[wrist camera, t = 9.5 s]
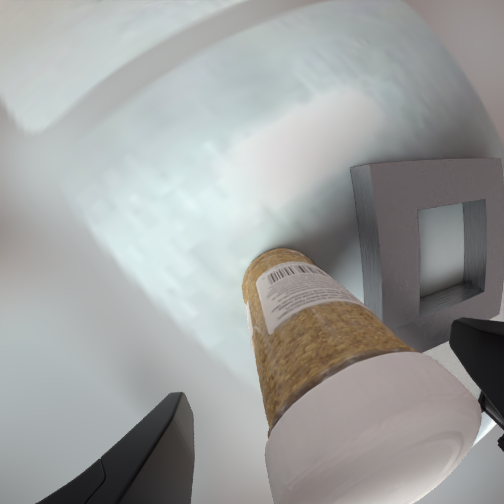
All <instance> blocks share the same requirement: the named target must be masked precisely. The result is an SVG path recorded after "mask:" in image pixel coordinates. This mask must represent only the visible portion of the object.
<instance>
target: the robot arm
mask: <svg viewBox="0 0 504 504" xmlns="http://www.w3.org/2000/svg"><path fill="white" fill-rule="evenodd" d="M449 344H450V347H451V349H452V350H453V352H454V353H455V355H456V356H457V358H458V359H459V360H460V362H461V363H462V365H463V366H464V368H465V369H466V371H467V372H468V374H469V375H470V377H471V378H472V379H473V381H474V382H475V383H476V384H477V386H478V387H479V388H480V389H481V391H482V392H481V395H480V398H479V401H478V402H479V404H480V407H481V413H482V412H485V413H486V414H488V415H489V416H490V417H491V418H492V419H493V420H494V421H495V422H496V423H497V424H498V425H499V426H500V427H501V428H502V429H503V430H504V322H500V321H491V320H483V319H474V318H466V317H460V318H458V319H456V320H454V321H453V322H452V324H451V331H450V339H449ZM498 443H499V444H498V446H499V447H500V448H501V449H502V450H503V451H504V434H503V436H502V437H500V438H499V439H498ZM194 454H195V453H194V419H193V412H192V410H191V407H190V405H189V403H188V400H187V397H186V396H185V394H184V393H183V392H174V393H170V394H169V395H168V396H166V397H165V398H164V400H162V401H161V402H160V403H159V404H158V405H157V406H156V407H155V408H154V409H153V410H152V411H151V412H150V413H149V414H148V415H147V416H145V417H144V418H143V420H141V421H140V422H139V423H138V424H137V425H136V426H135V427H134V428H133V429H132V430H130V431H129V432H128V433H127V434H126V435H125V436H124V437H123V438H122V439H121V440H120V441H118V442H117V443H116V444H115V445H114V446H113V447H112V448H111V449H109V450H108V451H107V452H106V453H105V454H104V455H103V456H102V457H101V459H98V460H97V461H96V462H95V463H93V464H92V465H91V466H90V467H89V468H87V469H86V470H85V471H84V472H83V473H81V474H80V475H79V476H77V477H76V478H75V479H73V480H72V481H70V482H69V483H68V484H66V485H65V486H63V487H61V488H60V489H58V490H57V491H55V492H54V493H52V494H51V495H49V496H48V497H46V498H44V499H43V500H41V501H39V502H38V503H36V504H191V494H192V483H193V472H194V459H195V458H194V457H195V455H194Z"/></svg>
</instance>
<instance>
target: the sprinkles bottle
mask: <svg viewBox="0 0 504 504" xmlns="http://www.w3.org/2000/svg"><path fill="white" fill-rule="evenodd" d="M242 290H243V299H244V302H245V304H246V314H247V322H248V328H249V334H250V340H251V345H252V348H253V351H254V354H255V358H256V365H257V371H258V375H259V381H260V387H261V392H262V396H263V403H264V407H265V412H266V416H267V420H268V424H269V431H268V441H267V444H266V450H265V460H266V467H267V472H268V478H269V483H270V487H271V492H272V497H273V501H274V504H413V503H415V502H416V501H418V500H419V499H421V498H422V497H424V496H425V495H426V494H428V493H429V492H430V491H431V490H433V489H434V488H435V487H436V486H438V485H439V484H440V483H441V482H442V481H443V480H444V479H446V478H447V477H448V475H450V473H452V472H453V471H454V469H455V468H456V467H457V466H458V465H459V463H460V462H461V461H462V460H463V458H464V457H465V455H466V454H467V453H468V451H469V450H470V448H471V447H472V445H473V443H474V441H475V439H476V437H477V434H478V432H479V428H480V425H481V407H480V404H479V402H478V401H477V399H476V398H475V397H474V396H473V394H472V393H471V392H470V391H469V390H468V389H467V388H466V387H465V386H464V385H463V384H462V383H461V382H460V381H459V380H458V379H457V378H456V377H455V376H454V375H452V374H451V373H450V372H449V371H448V370H447V369H446V368H444V367H443V366H442V365H441V364H440V363H439V362H437V361H436V360H434V359H433V358H431V357H430V356H428V355H425V354H422V353H420V352H418V351H417V350H415V349H413V348H410V347H409V346H408V345H407V344H406V343H405V342H403V341H402V340H401V339H400V338H398V337H397V336H396V335H395V334H394V333H393V332H392V331H391V330H390V329H389V328H388V327H387V326H386V325H384V324H383V323H382V322H381V321H380V319H379V318H378V317H377V315H376V314H375V313H374V312H373V311H371V310H370V309H369V308H368V307H367V306H365V305H364V304H363V303H362V302H361V301H360V300H358V299H357V298H356V297H355V296H354V295H352V294H351V293H350V292H349V291H348V290H346V289H345V288H344V287H343V286H342V285H340V284H339V283H338V282H337V281H335V280H334V279H333V278H332V277H330V276H329V275H328V274H327V273H325V272H324V271H323V270H321V269H320V268H318V267H316V266H315V265H314V263H313V262H312V261H311V260H310V259H309V258H308V257H307V256H306V255H304V254H303V253H301V252H299V251H297V250H291V249H282V248H279V249H274V250H271V251H267V252H265V253H263V254H262V255H260V256H259V257H258V258H257V259H255V260H254V261H253V262H252V264H251V265H250V266H249V267H248V269H247V270H246V272H245V274H244V278H243V284H242Z"/></svg>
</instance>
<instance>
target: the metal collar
mask: <svg viewBox="0 0 504 504" xmlns="http://www.w3.org/2000/svg"><path fill="white" fill-rule="evenodd" d="M350 171H351V177H352V184H353V190H354V197H355V204H356V211H357V219H358V228H359V237H360V247H361V258H362V270H363V285H364V305H365V306H367V307H368V308H369V309H370V310H371V311H373V312H374V313H375V314H376V315H377V317H378V318H379V319H380V321H381V322H382V323H383V324H384V325H386V326H387V327H388V328H389V329H390V330H391V331H392V332H393V333H394V334H395V335H396V336H397V337H398V338H400V339H401V340H402V341H403V342H405V343H406V344H407V345H408V346H409V347H410V348H413V349H415V350H417V351H418V352H420V353H422V352H425V351H427V350H429V349H431V348H434V347H436V346H438V345H440V344H443V343H445V342H447V341H449V339H450V331H451V324H452V322H453V321H454V320H456V319H458V318H460V317H466V318H474V319H483V320H489V319H491V318H493V317H495V316H496V315H498V314H499V312H500V306H501V299H502V291H503V281H504V182H503V173H502V165H501V158H462V159H433V160H414V161H400V162H387V163H375V164H367V165H362V166H357V167H352V168H350ZM462 202H463V212H464V236H465V261H464V283H461V284H458V285H456V286H453V287H451V288H448V289H445V290H443V291H440V292H437V293H434V294H431V295H429V296H426V297H423V298H420V248H419V229H418V216H417V210H420V209H426V208H432V207H438V206H444V205H450V204H456V203H462Z"/></svg>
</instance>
